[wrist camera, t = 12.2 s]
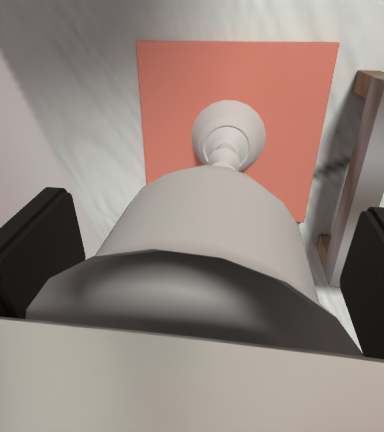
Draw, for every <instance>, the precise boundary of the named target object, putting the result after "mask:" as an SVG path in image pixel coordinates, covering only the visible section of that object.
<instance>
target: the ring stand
mask: <svg viewBox="0 0 384 432" xmlns="http://www.w3.org/2000/svg"><path fill="white" fill-rule="evenodd" d="M353 92H355V93H356V94H358V95H360V96H361V97H363V98H365V99H366V102H365V106H364V110H363V114H362V118H361V122H360V126H359V130H358V134H357V138H356V142H355V146H354V149H353V153H352V157H351V161H350V165H349V169H348V173H347V177H346V181H345V185H344V189H343V193H342V197H341V201H340V204H339V208H338V212H337V216H336V220H335V224H334V228H333V232H332V236H331V235H320V236H319V240H318V244H317V250H318V253H319V256H320V259H321V262H322V265H323V268H324V271H325V274H326V277H327V280H328V283H329V286H332V287H340V276H341V273H342V270H343V266H344V263H345V260H346V257H347V254H348V251H349V247H350V244H351V241H352V238H353V235H354V231H355V228H356V225H357V222H358V219H359V216H360V213H361V212H362V211H367V209H368V208H369V207H379V205H380V202H381V199H382V196H383V193H384V72H381V71H358V72H357V76H356V81H355V85H354V89H353Z"/></svg>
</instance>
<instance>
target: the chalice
mask: <svg viewBox="0 0 384 432" xmlns="http://www.w3.org/2000/svg"><path fill="white" fill-rule="evenodd" d="M265 139H266V132H265V127H264V123H263V121H262V120H261V118H260V116H259V115H258V113H257V112H256V111H255V110H253V109H252V108H251V107H250V106H249V105H247V104H244V103H242V102H239V101H235V100H222V101H219V102H215V103H212V104H211V105H209V106H208V107H206V108H205V109H203V110H202V111H201V113H200V114H199V115H198V117H197V118H196V119H195V122H194V125H193V128H192V130H191V143H192V146H193V149H194V152H195V154H196V155H197V157H198V158H199V160H200V161H201V162H202V163H203V164H205V165H202V166H197V167H192V168H187V169H182V170H179V171H175V172H172V173H168V174H166V175H164V176H162V177H160V178H159V179H157V180H155V181H153V182H152V183H150V184H148V185H146V186H145V187H143V188H142V189H141V190H140V191H139V193H138V194H137V195H136V196H135V198H134V199H133V200H132V202H131V203H130V204H129V205H128V207H127V208H126V210H125V211H124V213H123V214H122V216H121V217H120V219H119V220H118V222H117V223H116V225H115V226H114V228H113V229H112V231H111V232H110V234H109V235H108V237H107V238H106V240H105V241H104V243H103V244H102V246H101V248H100V249H99V250H98V252H97V253H96V255H95V256H93V257H91V258H89V259H87V260H85V261H83V262H81V263H79V264H77V265H75V266H73V267H71V268H69V269H67V270H65V271H63V272H61V273H59V274H57V275H55V276H53V277H51V278H49V279H48V281H47V282H46V283H45V285H44V286H43V287H42V289H41V290H40V292H39V293H38V294H37V296H36V297H35V298H34V300H33V301H32V303H31V304H30V305H29V307H28V308H27V309H26V319H30V320H40V321H49V322H59V323H68V324H78V325H87V326H97V327H107V328H116V329H125V330H135V331H144V332H153V333H162V334H171V335H180V336H189V337H198V338H207V339H216V340H225V341H234V342H243V343H251V344H260V345H268V346H277V347H286V348H294V349H303V350H312V351H320V352H329V353H336V354H344V355H352V356H361V357H365V356H364V355H363V354H362V352H361V351H360V349H359V348H358V347H357V345H356V344H355V343H354V341H353V340H352V338H351V337H350V336H349V334H348V333H347V332H346V330H345V329H344V327H343V326H342V325H341V323H340V322H339V321H338V319H337V318H336V317H335V316H334V315H333V314H332V313H330V312H329V311H328V310H327V309H326V308H325V307H323V306H322V305H321V304H320V303H319V299H318V295H317V292H316V288H315V284H314V281H313V277H312V273H311V270H310V266H309V262H308V258H307V255H306V251H305V247H304V244H303V240H302V236H301V232H300V229H299V225H298V224H297V222H296V221H295V219H294V218H293V216H292V215H291V213H290V212H289V211H288V209H287V208H286V206H285V205H284V203H283V202H282V201H281V200H279V199H278V198H277V197H275V196H274V195H273V194H272V193H270V192H269V191H268V190H266V189H265V188H264V187H263V186H261V185H260V184H259V183H257V182H256V181H255V180H254V179H252V178H251V177H250V176H248V175H246V174H244V173H241V172H239V171H242V170H244V169H246V168H248V167H250V166H251V165H252V164H253V163H254V162H255V161H256V160H257V159H258V158H259V157H260V155H261V153H262V151H263V149H264V147H265Z"/></svg>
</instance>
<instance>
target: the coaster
mask: <svg viewBox="0 0 384 432" xmlns="http://www.w3.org/2000/svg"><path fill="white" fill-rule="evenodd" d="M136 48H137V61H138V75H139V88H140V102H141V115H142V128H143V142H144V155H145V169H146V182H147V185H148V184H150V183H152V182H153V181H155V180H157V179H159V178H160V177H162V176H164V175H166V174H168V173H172V172H175V171H179V170H182V169H187V168H192V167H197V166H202V165H205V164H203V163H202V162H201V161H200V160H199V158H198V157H197V155H196V154H195V152H194V149H193V146H192V143H191V130H192V128H193V125H194V122H195V119H196V118H197V117H198V115H199V114H200V113H201V111H202V110H203V109H205V108H206V107H208V106H209V105H211V104H212V103H215V102H219V101H222V100H235V101H239V102H242V103H244V104H247V105H249V106H250V107H251V108H252V109H253V110H255V111H256V112H257V113H258V115H259V116H260V118H261V120H262V121H263V123H264V127H265V132H266V139H265V147H264V149H263V151H262V153H261V155H260V157H259V158H258V159H257V160H256V161H255V162H254V163H253V164H252V165H251V166H250V167H248V168H246V169H244V170H242V171H239V172H241V173H244V174H246V175H248V176H250V177H251V178H252V179H254V180H255V181H256V182H257V183H259V184H260V185H261V186H263V187H264V188H265V189H266V190H268V191H269V192H270V193H272V194H273V195H274V196H275V197H277V198H278V199H279V200H281V201H282V202H283V203H284V205H285V206H286V208H287V209H288V211H289V212H290V213H291V215H292V216H293V218H294V219H295V221H296V222H304V218H305V213H306V208H307V203H308V198H309V193H310V188H311V183H312V178H313V173H314V168H315V163H316V158H317V153H318V148H319V143H320V138H321V133H322V128H323V123H324V118H325V113H326V108H327V103H328V98H329V93H330V88H331V83H332V78H333V73H334V68H335V63H336V58H337V53H338V48H339V42H227V41H136Z"/></svg>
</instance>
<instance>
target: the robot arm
mask: <svg viewBox="0 0 384 432" xmlns="http://www.w3.org/2000/svg"><path fill="white" fill-rule="evenodd" d="M83 261H85V252H84V247H83V243H82V238H81V234H80V229H79V225H78V221H77V216H76V212H75V207H74V203H73V198H72V195H71V194H70V193H67V191H66V189H64V188H52V187H47V188H45V189H44V190H43V191H41V192H40V193H39V194H38V195H37V196H36V197H35V198H33V199H32V200H31V201H30V202H29V203H28V204H27V205H26V206H25V207H23V208H22V209H21V210H20V211H19V212H18V213H17V214H16V215H14V216H13V217H12V218H11V219H10V220H9V221H8V222H7V223H6V224H5V225H3V226H2V227H1V228H0V432H384V208H382V207H369V208H368V209H367V211H362V212H361V213H360V216H359V219H358V222H357V225H356V228H355V231H354V235H353V238H352V241H351V244H350V247H349V251H348V254H347V257H346V260H345V263H344V266H343V270H342V273H341V276H340V288H341V291H342V294H343V297H344V300H345V303H346V306H347V309H348V312H349V314H350V317H351V320H352V323H353V326H354V329H355V332H356V335H357V338H358V340H359V343H360V346H361V349H362V352H363V355H364V356H365V357H361V356H352V355H344V354H336V353H329V352H320V351H312V350H303V349H294V348H286V347H277V346H268V345H260V344H251V343H243V342H234V341H225V340H216V339H207V338H198V337H189V336H180V335H171V334H162V333H153V332H144V331H135V330H125V329H116V328H107V327H97V326H87V325H78V324H68V323H59V322H49V321H40V320H30V319H26V309H27V308H28V307H29V305H30V304H31V303H32V301H33V300H34V298H35V297H36V296H37V294H38V293H39V292H40V290H41V289H42V287H43V286H44V285H45V283H46V282H47V281H48V279H49V278H51V277H53V276H55V275H57V274H59V273H61V272H63V271H65V270H67V269H69V268H71V267H73V266H75V265H77V264H79V263H81V262H83Z"/></svg>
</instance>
